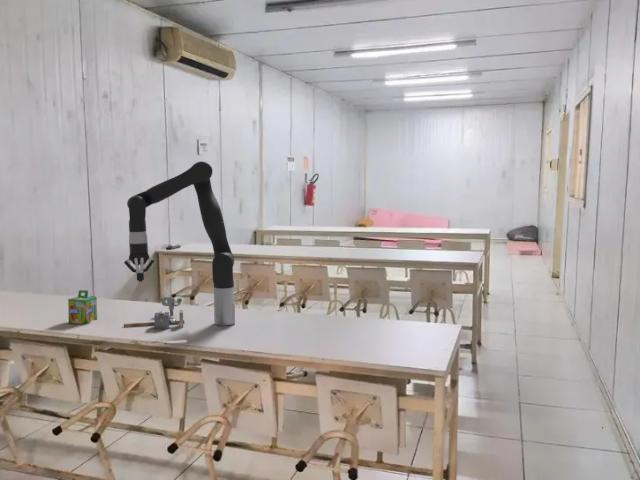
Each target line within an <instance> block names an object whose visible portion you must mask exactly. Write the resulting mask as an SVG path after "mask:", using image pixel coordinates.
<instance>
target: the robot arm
mask: <svg viewBox="0 0 640 480" xmlns="http://www.w3.org/2000/svg"><path fill="white" fill-rule="evenodd" d="M212 176H213V167H212V166H211V164H210V163H209V162H206V161H197V162H195V163H194V164H193V165H192V166H190V168H188V169H187V170H185V171H183V172H182V173H180V174H178V175H176V176H174V177H172V178H169V179H166V180H165V181H162V182H160V183H158V184H156V185H153V186H152V187H150V188H148V189H147V190H144V191H141V192H139V193H137V194H135V195H132V196H131V197H130V198H128V200H127V202H126V203H127V204H126V205H127V206H126V207H127V208H128V214H129V216H128V217H129V219H128V232H129V233H128V244H129V248H128V249H129V256H128V258H127V259H126V260H125V261H123V262H124V265H125V266H127V268H128V269H129V271H131V272H132V273H135V274H136V281H137V282H138V283H140V282H141V283H142V282H143V281H144V279H145V275H144V273H146V272H148V271H149V269H150V268H151V266H152V265H153V264H154V262H155V259H154V258H152V257H150V255H149V247H148V243H149V241H148V235H147V234H148V233H147V222H146V217H147V208H148V207H150V206H151V205H154V204H157V203H160V202H163V201H164V200H165V199H167V198H169V197H172V196H173V195H175V194H177V193H179V192H181V191H182V190H184V189H185V188H188V187H191V186H193V188H194V190H195V193H196V196H197V202H198V207H199V212H200V215H201V220H202V224H203V227H204V229H205V232H206V235H207V237H209V240H210V242H211V245H212V250H213V256H214V257H213V259H212V263H211V264H212V265H211V266H212V267H211V269H212V271H211V272H212V273H211V275H212V282H213V314H214V315H213V320H214V321H213V323H214V325H216V326H224V327H225V326H231V325H235V324H236V305H235V281H234V271H233V270H234V265H235V258H234V256H233V251H232V250H231V246H230V244H229V241H228V238H227V230H226V226H225V221H224V216H223V213H222V209H221V207H220V205H219V202H218V200H217V198H216V196H215V194H214V192H213V188H212V187H213V186H212V183H211V178H212ZM131 263H132V264H133V265H134V266H135V268H134V267H133V265H132V264H131ZM146 263H148V264H147V265H146V267H145V264H146Z"/></svg>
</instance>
